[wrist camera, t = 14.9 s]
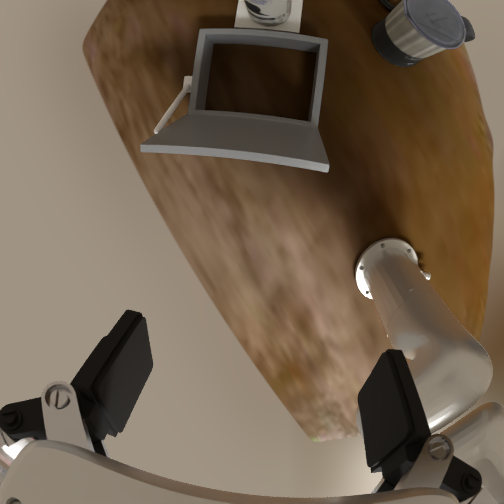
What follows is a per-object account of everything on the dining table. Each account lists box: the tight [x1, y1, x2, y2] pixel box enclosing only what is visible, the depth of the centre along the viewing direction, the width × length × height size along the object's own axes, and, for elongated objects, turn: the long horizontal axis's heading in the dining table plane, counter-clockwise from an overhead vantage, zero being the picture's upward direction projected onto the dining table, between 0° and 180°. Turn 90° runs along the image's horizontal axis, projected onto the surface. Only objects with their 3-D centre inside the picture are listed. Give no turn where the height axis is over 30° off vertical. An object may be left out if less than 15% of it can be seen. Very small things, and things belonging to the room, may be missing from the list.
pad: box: [234, 0, 303, 34], centre depth 30 cm, size 10×8×1 cm
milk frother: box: [372, 0, 475, 67], centre depth 21 cm, size 14×16×15 cm
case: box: [140, 29, 330, 173], centre depth 29 cm, size 19×18×19 cm
